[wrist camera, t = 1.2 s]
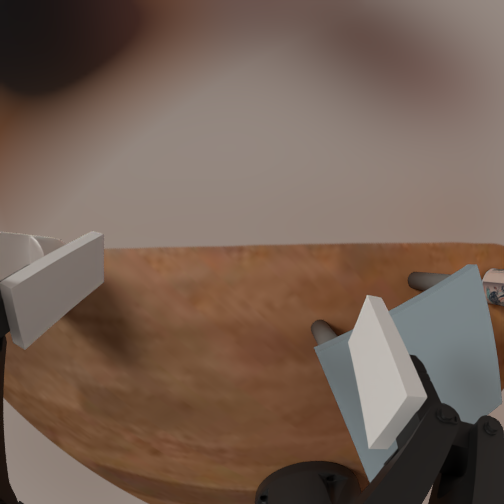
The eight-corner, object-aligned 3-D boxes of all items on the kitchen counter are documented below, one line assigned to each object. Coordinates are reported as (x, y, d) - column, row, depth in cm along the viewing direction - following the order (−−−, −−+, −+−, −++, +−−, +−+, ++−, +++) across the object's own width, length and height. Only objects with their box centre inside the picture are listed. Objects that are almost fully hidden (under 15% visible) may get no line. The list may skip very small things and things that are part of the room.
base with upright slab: (77, 299, 36) (17, 310, 24) (35, 301, 37) (-23, 310, 25) (71, 233, 37) (10, 224, 25) (30, 241, 37) (-28, 236, 25)
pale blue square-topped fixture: (451, 371, 32) (501, 403, 20) (347, 428, 33) (370, 483, 21) (420, 263, 33) (476, 264, 21) (302, 322, 34) (316, 352, 22)
